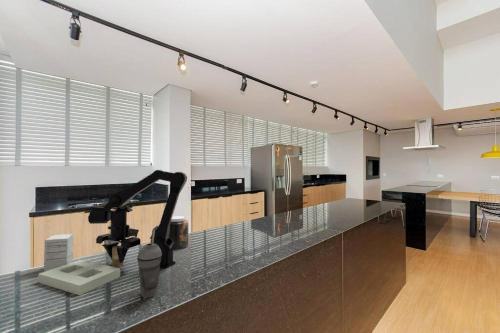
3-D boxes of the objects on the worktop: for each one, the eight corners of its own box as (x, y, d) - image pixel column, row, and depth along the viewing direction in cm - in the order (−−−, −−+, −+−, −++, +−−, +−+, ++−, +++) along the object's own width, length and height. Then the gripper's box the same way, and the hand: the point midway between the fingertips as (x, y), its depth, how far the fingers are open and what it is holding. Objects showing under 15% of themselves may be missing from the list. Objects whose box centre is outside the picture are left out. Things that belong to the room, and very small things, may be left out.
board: (120, 276, 84) (120, 268, 84) (79, 295, 71) (79, 285, 71) (80, 267, 92) (81, 259, 92) (38, 282, 79) (38, 273, 79)
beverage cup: (141, 288, 75) (142, 227, 76) (164, 287, 76) (165, 227, 77) (132, 300, 68) (133, 232, 69) (157, 299, 69) (158, 232, 70)
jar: (165, 251, 112) (165, 220, 113) (163, 244, 123) (164, 216, 124) (189, 248, 117) (190, 218, 118) (186, 241, 128) (186, 214, 128)
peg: (125, 265, 94) (126, 246, 94) (116, 269, 90) (117, 249, 90) (118, 264, 95) (118, 244, 96) (109, 268, 92) (109, 247, 92)
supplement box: (51, 266, 93) (52, 235, 93) (73, 263, 96) (74, 233, 96) (42, 273, 86) (44, 239, 86) (66, 270, 89) (67, 237, 89)
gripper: (151, 221, 97) (150, 258, 97) (120, 218, 104) (119, 252, 104) (128, 226, 87) (127, 268, 86) (95, 222, 94) (94, 261, 93)
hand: (117, 261), depth 93 cm, fingers closed on peg, 4 cm apart
